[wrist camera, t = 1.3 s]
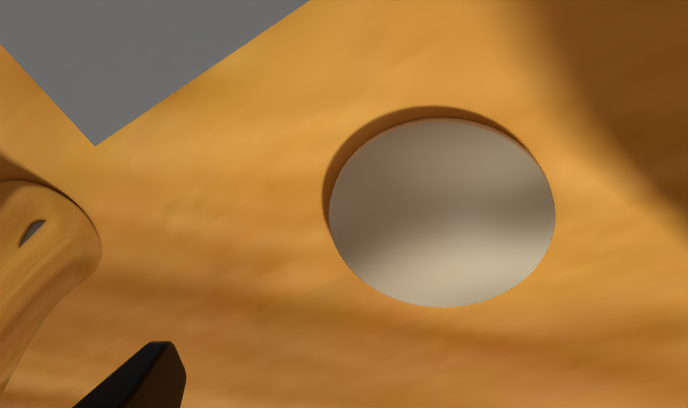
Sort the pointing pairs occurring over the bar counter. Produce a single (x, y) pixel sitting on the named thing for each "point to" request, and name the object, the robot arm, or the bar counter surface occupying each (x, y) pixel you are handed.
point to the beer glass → (38, 262)
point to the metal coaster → (441, 212)
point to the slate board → (126, 49)
